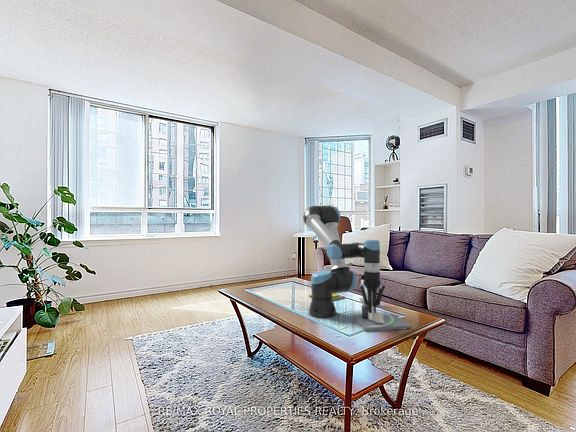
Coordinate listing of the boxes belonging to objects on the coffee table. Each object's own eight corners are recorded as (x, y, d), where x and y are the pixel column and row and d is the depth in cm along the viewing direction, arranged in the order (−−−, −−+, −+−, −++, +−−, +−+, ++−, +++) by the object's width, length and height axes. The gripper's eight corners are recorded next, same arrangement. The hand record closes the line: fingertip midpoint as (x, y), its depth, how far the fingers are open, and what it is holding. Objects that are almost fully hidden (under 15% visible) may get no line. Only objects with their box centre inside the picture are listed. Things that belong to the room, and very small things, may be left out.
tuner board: (365, 331, 141) (365, 327, 141) (353, 319, 159) (353, 315, 159) (410, 328, 143) (410, 325, 143) (393, 316, 161) (393, 313, 161)
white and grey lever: (359, 317, 156) (359, 305, 156) (367, 315, 159) (366, 303, 159) (380, 324, 144) (379, 312, 144) (387, 323, 146) (387, 310, 146)
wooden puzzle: (325, 303, 191) (324, 297, 191) (307, 297, 207) (307, 292, 207) (345, 299, 200) (345, 293, 201) (327, 293, 217) (327, 288, 217)
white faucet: (368, 307, 179) (367, 281, 179) (357, 303, 187) (357, 279, 188) (377, 305, 183) (376, 280, 183) (366, 301, 191) (365, 278, 191)
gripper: (361, 272, 144) (362, 321, 144) (387, 272, 145) (387, 321, 145) (357, 270, 152) (357, 317, 151) (381, 270, 153) (381, 316, 152)
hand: (372, 319), depth 148 cm, fingers closed
